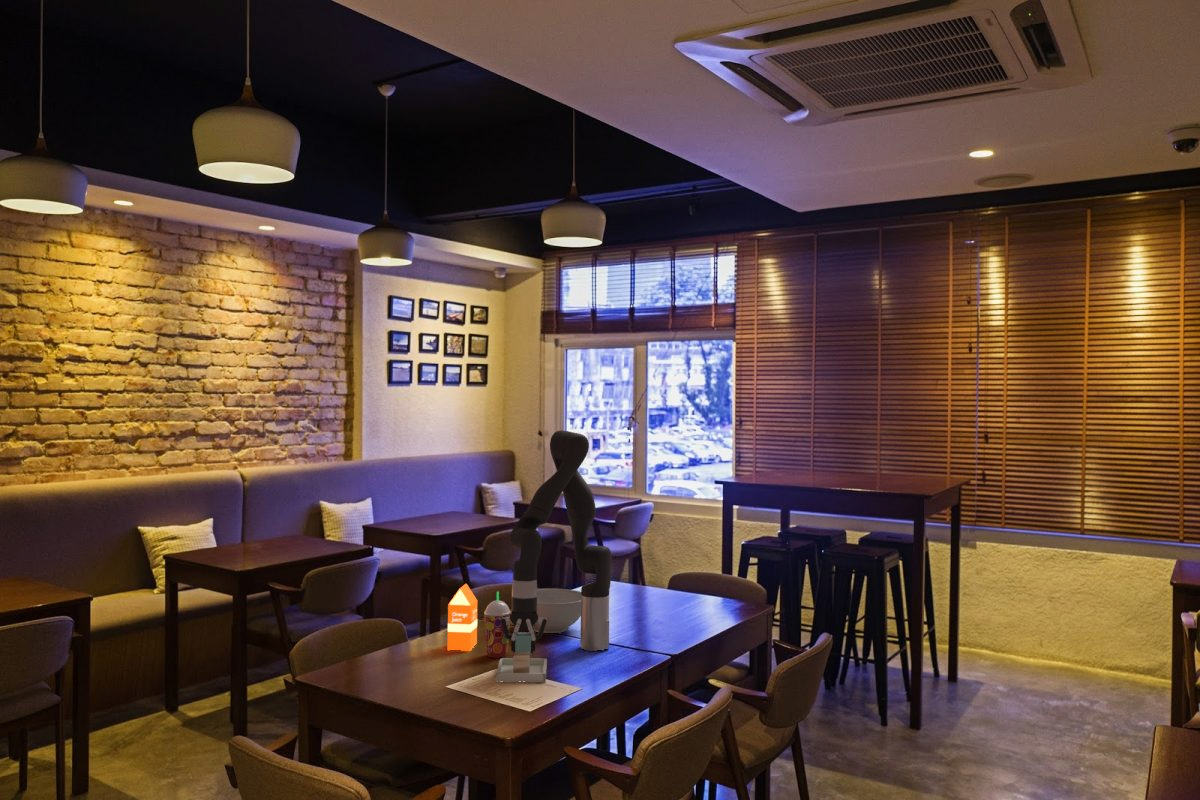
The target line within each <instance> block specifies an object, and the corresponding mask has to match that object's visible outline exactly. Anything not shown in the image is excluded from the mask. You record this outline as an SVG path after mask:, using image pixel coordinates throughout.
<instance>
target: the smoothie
mask: <svg viewBox="0 0 1200 800" xmlns="http://www.w3.org/2000/svg"><path fill="white" fill-rule="evenodd" d="M499 595H500V592H499V591H496V599H495V600H493V601H491V602H489V604H488V605H487V606H486V608H485V610H484V611H483V614H484V635H485V636H484V637H485V638H484V639H485V653H486V654H487V657H489V658H491V657H492V659H500V657H502V658H505V657H506V655H507V653H508V650H509V639H507V638H505V634H504V630H503V627H502V623H501V619H502V617H505V618H506V617H509V616H510V615H511V611H512V610H510V608H509V605H508V604H507V603H505V601H503V600H500V596H499ZM510 622H511V620H509V624H508V625H507V626H508V629H509V630H510V626H511V625H510V624H511V623H510Z"/></svg>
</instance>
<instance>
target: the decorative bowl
mask: <svg viewBox="0 0 1200 800" xmlns="http://www.w3.org/2000/svg"><path fill="white" fill-rule="evenodd" d="M537 591H538V593H537V614H538V617H542V618H546V619H547V622H546V625H545V628H544V632H543V633H559V634H562V633H561V632H564V631H566V630H567V631H568V629H569V628H570V627H571V626H572V625H574V624H575V623H576V622H577V621H578V620H579V619H581V590H575V589H574V590H573V589H568V588H567V589H566V588H537ZM540 626H541V625H540V624H539V621H538V620H537V622H536V623H535V624H534V626H533V628H534V631H535V633H536V632H539V630H540ZM567 631H566V632H567ZM564 633H565V632H564Z"/></svg>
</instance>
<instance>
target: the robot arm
mask: <svg viewBox="0 0 1200 800" xmlns="http://www.w3.org/2000/svg"><path fill="white" fill-rule="evenodd" d="M549 449H550V454H551V458H552V460H553V463H554V466H555V469H556V472H554V473H553V475H552V476H550V477H549V478H548V479H547V480H546V481H545V482H544V483H542V484H541V485H540V486H539V487H538V489H537V490H536V491H535V493H534V495H533V497H532V499H531V500H530V503H529V504H528V507H527V509H526V510H525V512H524V514H522V515H521V516H520V518H519V519H518V521H517V522H516V523H515V524H514V526H513V527H512V530H511V532H510V535H509V542H510V545H511V547H513V549H515V550H518V551H520V554H519V558H518V559H516V560H514V562H513V566H512V567H513V568H512V571H513V572H512V584H511V610H510V611H511V614H510V616H509V617H506V618H505V617H502V619H501V623H502V627H503V630H504V634H505V638H507V639H508V640H510V642H511V643H510V644H511V645H510V649H511V650H510V651H511V652H512V653H513V654H514V652H515V642H516V635H517V633H518V632H519V631H521V630H525V631H528V632H529V633H530V635H531V655H532V654H534V652H536V648H537V647H536V644H537V640H541V639H542V638H543V635H544V634H543V632H544V628H545V625H546V622H547V619H546V618H542V617H538V614H537V593H538V591H537V589H538V581H537V577H538V575H537V574H538V570H537V567H538V563H539V559H540V556H541V551H542V546H543V541H542V540H543V539H542V535H541V533H540V532H539V531H538V528H539V526H542V525H545V524H546V523H547V522H548V520H549V519H550V516H551V515H552V512H553V511H554V508H555V506H556V504H557V502H558V500H559V498H560V496H561V495H562V494H563V498H564V504H565V509H566V513H567V517H568V521H569V525H570V528H571V533H572V541H573V547H574V555H575V562H576V566H577V568H578V570H579V572H581V573H582V574H583V573H584V574H590V575H596V576H595V580H594V581H592V582H589V583H586V584H583V585H582V586H581V590H580V592H581V616H580V639H579V641H580V643H579V644H580V647H581V648H580V647H579V648H580V649H581V650H583V649H584V651H589V652H598V651H597V650H602V649H609V650H610V589H611V583H612V582H611V581H612V576H611V575H612V566H613V563H612V561H613V555H612V551H611V549H610V547H608V546H607V545H606V546H604V545H595V544H594V545H593V544H590V543H589V539H588V533H589V530H590V528H591V526H592V524H593V522H594V520H595V517H596V514H597V509H596V504H595V503H596V502H595V498H594V494H593V491H592V489H591V488H590V486H589V485H588V483H587V482H586V480H585V479H584V478H583V476H582V474H580V471H579V468H580V466H582V464H583V462H584V461H585V459H586V457H587V455H588V453H589V449H590V442H589V439H588V438H587V436H585V435H584V434H581V433H578V432H573V431H568V430H557V431H554V433H553V434H552V435H551V438H550V442H549ZM509 620H510V622H511V623H512V624H513V626H514V628H513V632H512V634H511V633H510V628H509V629H508V626H507V625H508V624H509ZM537 620H538V621H539V624H540V625H541V626H540V630H539V633H536V632H534V628H533V626H534V624H535V623H536V622H537ZM602 651H603V650H602Z"/></svg>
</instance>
